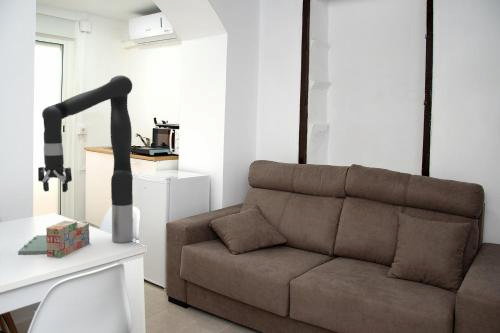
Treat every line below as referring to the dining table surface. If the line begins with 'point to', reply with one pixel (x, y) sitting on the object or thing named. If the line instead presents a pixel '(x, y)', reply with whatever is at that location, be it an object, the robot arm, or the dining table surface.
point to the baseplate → (35, 246)
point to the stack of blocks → (66, 238)
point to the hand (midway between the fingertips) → (55, 191)
